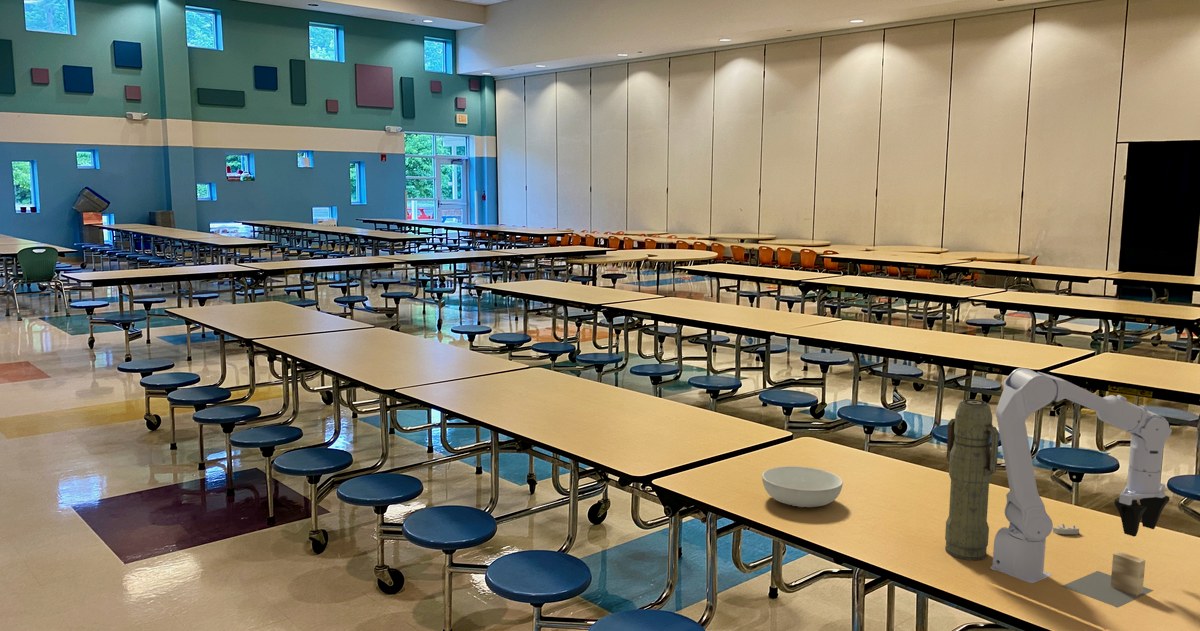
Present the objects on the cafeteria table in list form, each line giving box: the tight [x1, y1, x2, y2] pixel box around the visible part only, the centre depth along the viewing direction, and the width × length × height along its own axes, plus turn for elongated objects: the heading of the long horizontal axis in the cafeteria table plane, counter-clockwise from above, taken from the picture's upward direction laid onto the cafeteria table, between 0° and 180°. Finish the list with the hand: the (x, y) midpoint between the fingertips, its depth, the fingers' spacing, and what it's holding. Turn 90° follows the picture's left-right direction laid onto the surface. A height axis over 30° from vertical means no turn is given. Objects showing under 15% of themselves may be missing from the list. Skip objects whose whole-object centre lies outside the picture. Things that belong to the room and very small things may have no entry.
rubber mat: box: [1061, 570, 1154, 608], centre depth 173 cm, size 11×14×1 cm
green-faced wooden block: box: [1110, 551, 1146, 596], centre depth 171 cm, size 5×3×7 cm, turn 32°
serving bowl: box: [761, 465, 844, 508], centre depth 225 cm, size 21×21×7 cm
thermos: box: [944, 399, 1000, 561], centre depth 190 cm, size 9×12×35 cm
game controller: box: [1052, 523, 1081, 539], centre depth 201 cm, size 6×12×3 cm, turn 23°
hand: (1139, 531), depth 177 cm, fingers open, 7 cm apart
